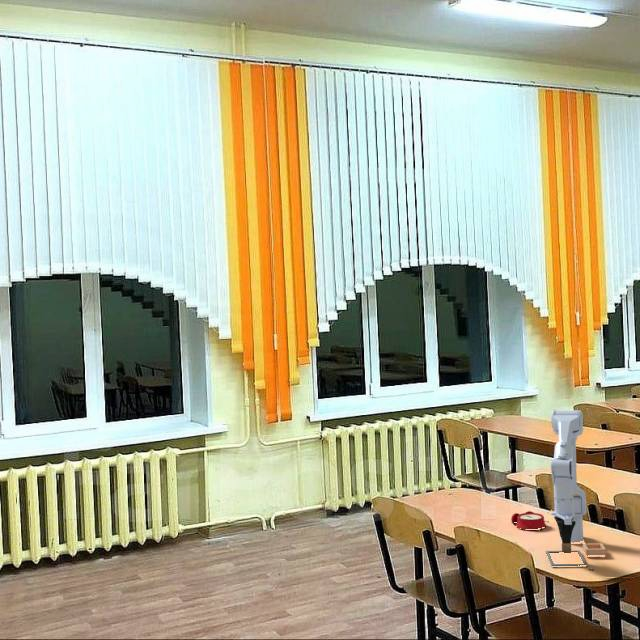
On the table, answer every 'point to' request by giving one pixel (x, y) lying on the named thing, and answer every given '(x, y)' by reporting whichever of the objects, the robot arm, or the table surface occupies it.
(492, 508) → the table surface
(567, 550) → the dowel
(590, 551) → the wooden block with hole
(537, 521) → the alarm clock
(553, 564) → the grey rectangular frame
